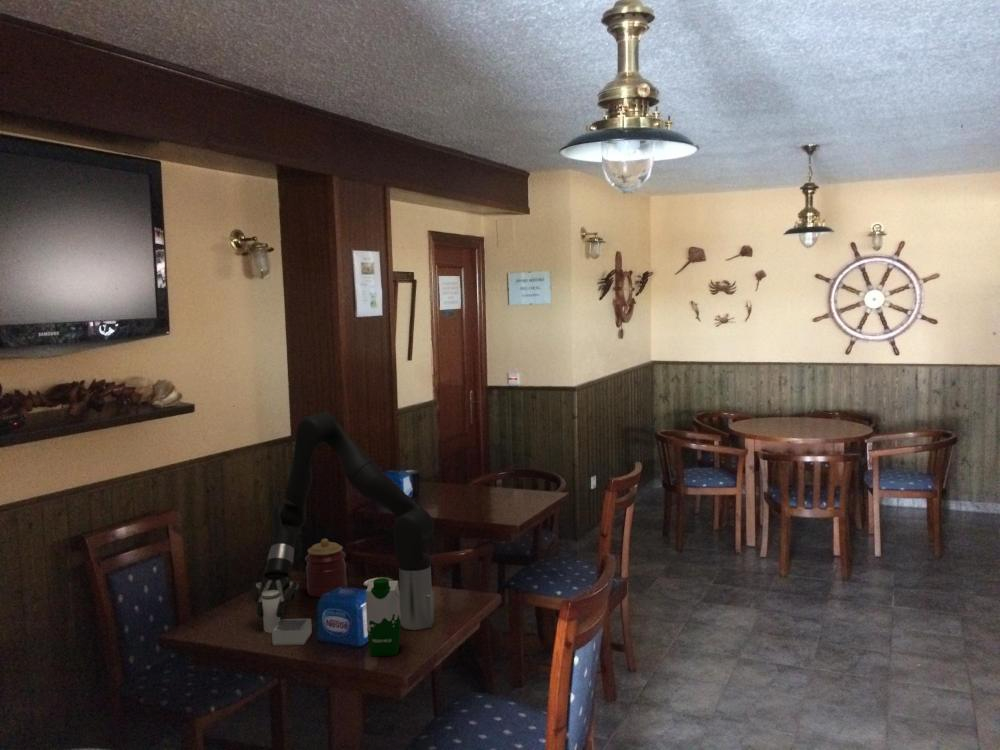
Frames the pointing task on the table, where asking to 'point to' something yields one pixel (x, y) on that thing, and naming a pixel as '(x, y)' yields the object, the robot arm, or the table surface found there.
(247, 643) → the table surface
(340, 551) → the canister
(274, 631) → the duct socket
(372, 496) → the robot arm
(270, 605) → the white cylinder
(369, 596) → the milk carton
